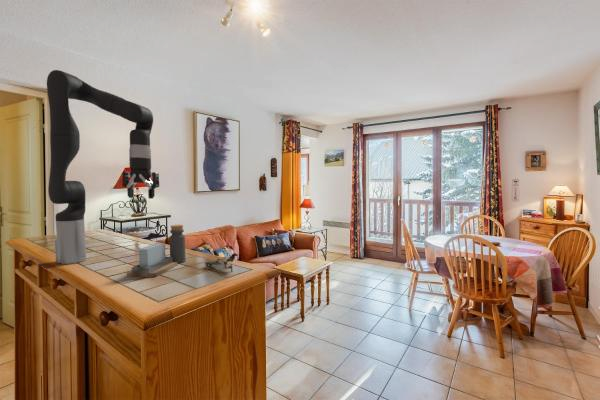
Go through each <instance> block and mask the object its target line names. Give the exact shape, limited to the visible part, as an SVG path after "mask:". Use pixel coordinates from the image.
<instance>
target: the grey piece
mask: <svg viewBox="0 0 600 400" xmlns="http://www.w3.org/2000/svg"><path fill="white" fill-rule="evenodd" d="M165 257H166V259H164V260H162V261H160V262H158V263H156V264H154V265H151V266H149V267H140V265H139V264H136V265H134V266H132V267H131V270H130V271H127V272H126V277H147V278H157V277H159V276H160V275H162V274H164V273H166V272H168V271H170V270H172V269H174V268H175V267H177V266H178V264H177V262H172V257H170V256H165Z"/></svg>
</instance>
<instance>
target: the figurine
mask: <svg viewBox="0 0 600 400" xmlns="http://www.w3.org/2000/svg"><path fill="white" fill-rule="evenodd" d="M238 256H239V254H237V253H231V255H230V256H227V255H226V256H222V257H221V258H216V259H215V261H206V262H205V267H206V268H208V267H209V266H213V265H214V266H217V265H222V266H223V267H222V268H223V269H224V270H229V269H230V271H231V273H233V261H235V259H236V257H238ZM228 263H230V266H227V265H228Z"/></svg>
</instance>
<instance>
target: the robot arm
mask: <svg viewBox="0 0 600 400" xmlns="http://www.w3.org/2000/svg"><path fill="white" fill-rule="evenodd" d="M46 90H47V91H46V92H47V98H48V105H49V119H50V120H49V125H50V126H49V127H50V129H49V130H50V131H49V139H50V140H49V143H50V165H49V166H50V168H49V178H48V186H47V187H48V188H47V189H48V191H47V192H48V197H49V200H50V201H51V202H52V204H54V205H64V204H68V205H67V206H66V208H65V209H63V210H62V211H59V212H57V213H56V214H55V229H56V238H55V239H54V251H55V253H54V254H55V263H56V262H58V264H59V263H61V264H60V265H69V264H76V263H80V262H84V261H86V260H87V248H86V246H87V245H86V230H85V229H86V228H85V213H86V198H87V197H86V188H85V186H84V184H83V183H82V182H81V181H79V180H66V178H67V177H66V176H67V170H68V168H69V166H70V164H71V163H72V162H73V160H74V159H75V158H76V157H77V155H78V153H79V151H80V147H81V145H80V143H81V139H80V130H79V128H78V126H77V124H76V121H75V120H74V118H73V115H72V113H71V111H70V106H69V103H70V102H69V100H70V99H71V100H77V101H82V102H86V103H90V104H92V105H94V106H97V107H98V108H99V109H101V110H104V111H106V112H108V113H111V114H113V115H116V116H118V117H120V118H122V119H125V120H127V121H129V122H131V123H133V124H134V123H135V128H134V129H132V130H130V132H129V151H128V152H129V153H128V154H129V155H128V156H129V169H130V171H123V172H122V179H121V180H122V181H121V183H122V185H121V186H122V187H125V188H126V189H127V197H128V198H129V199H133V198H135V195H134V194H135V191H134V187H135V186H136V185H137V184H140V183H141V184H145V185H146V186H147V188H148V191H147V192H148V197H147V198H148V199H149V200H151V199H154V198H155V189H157V188H159V187H160V175H159V172H158V171H157V172H156V171H155V172H154V171H152V172H151V170H152V150H151V137H150V136H151V132H152V129H153V126H154V125H153V124H154V115H153V113H152V110H151V109H150V108H148V107H146V106H144V105H140V104H138V103H135V102H132V101H129V100H127V99H124V97H121V96H118V95H116V94H113V93H111V92H107V91H103V90H100V89H97V88H95V87H94V86H92V85H90V84H88V83H87V82H85V81H84V80H82V79H80V78H79V77H77V76H76V75H73V74H71V73H68V72H66V71H63V70H59V69H55V70H54V69H53V70H52V71H50V72H49V73H48V75H47V77H46Z"/></svg>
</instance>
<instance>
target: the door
mask: <svg viewBox="0 0 600 400" xmlns="http://www.w3.org/2000/svg"><path fill="white" fill-rule="evenodd" d="M166 257H167V256H166V242H155V243H153V244H150V245H147V246H144V247H141V248H139V249H138V261H139V262H138V263H139V264H138V265H140V267H149V266H151V265H154V264H156V263H158V262H160V261H162V260H164V259H166Z"/></svg>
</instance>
